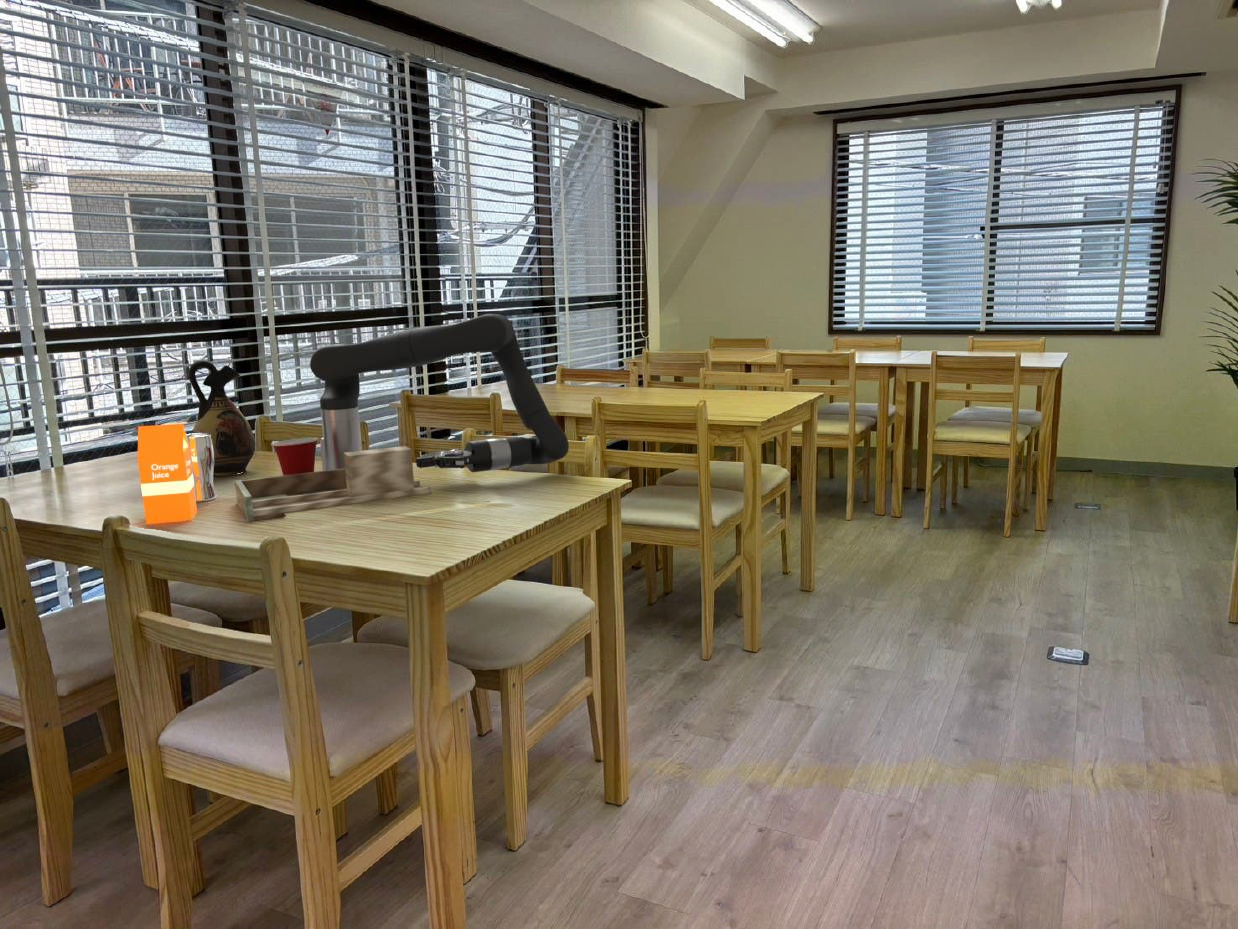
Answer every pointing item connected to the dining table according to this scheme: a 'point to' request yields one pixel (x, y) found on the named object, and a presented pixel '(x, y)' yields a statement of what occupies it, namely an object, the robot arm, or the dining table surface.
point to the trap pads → (317, 491)
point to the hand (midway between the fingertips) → (417, 463)
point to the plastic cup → (296, 455)
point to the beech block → (379, 471)
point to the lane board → (307, 501)
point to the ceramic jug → (222, 421)
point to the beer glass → (202, 465)
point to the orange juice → (166, 474)
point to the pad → (269, 497)
